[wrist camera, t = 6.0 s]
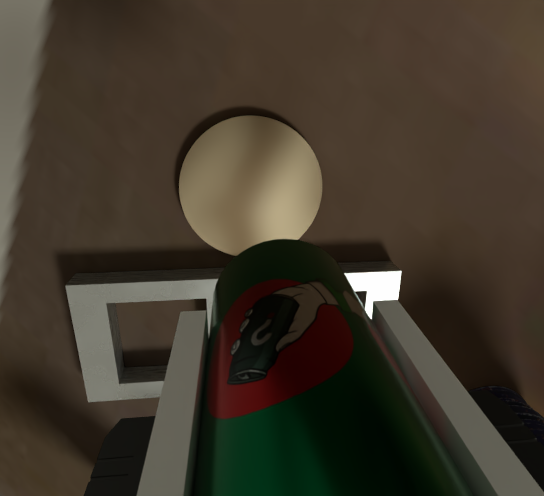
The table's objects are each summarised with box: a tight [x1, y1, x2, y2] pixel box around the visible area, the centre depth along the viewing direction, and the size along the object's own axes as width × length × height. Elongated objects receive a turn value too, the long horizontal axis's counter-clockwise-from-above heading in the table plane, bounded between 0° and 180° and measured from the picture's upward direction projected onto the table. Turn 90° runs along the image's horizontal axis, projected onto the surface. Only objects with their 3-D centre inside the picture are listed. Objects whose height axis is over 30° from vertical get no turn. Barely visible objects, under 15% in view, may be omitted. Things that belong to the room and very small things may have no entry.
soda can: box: [193, 239, 474, 496], centre depth 10 cm, size 5×5×12 cm
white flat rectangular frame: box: [65, 261, 401, 402], centre depth 32 cm, size 24×10×2 cm, turn 90°
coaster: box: [179, 115, 322, 256], centre depth 29 cm, size 10×10×1 cm
